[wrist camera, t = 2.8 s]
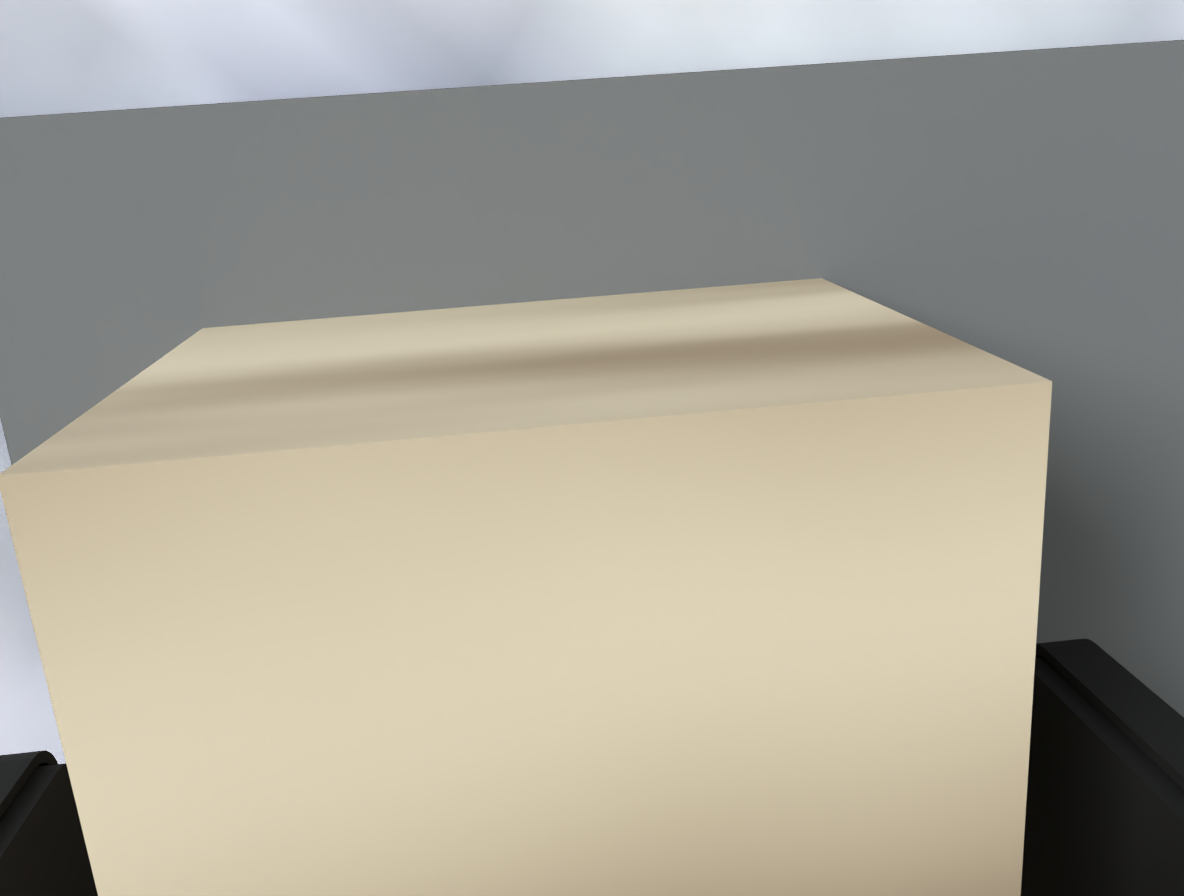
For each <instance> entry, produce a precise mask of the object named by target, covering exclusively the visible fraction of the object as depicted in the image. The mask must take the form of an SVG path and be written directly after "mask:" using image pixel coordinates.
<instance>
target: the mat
mask: <svg viewBox="0 0 1184 896" xmlns="http://www.w3.org/2000/svg"><path fill="white" fill-rule="evenodd" d="M817 278H823V279H825V280H827V281H829V282H832V283H834V284H836V285H838V286H841V287H843V288H845V289H847V290H849V291H852V292H854V293H856V294H858V295H861V296H863V297H865V298H867V299H870V300H872V301H874V302H876V303H879V304H881V305H883V306H885V307H887V308H890V309H892V310H894V311H896V312H899V313H901V314H903V315H905V316H908V317H910V318H912V319H914V320H917V321H919V322H921V323H923V324H925V325H928V326H930V327H932V328H934V329H937V330H939V331H941V332H943V333H946V334H948V335H950V336H952V337H954V338H957V339H959V340H961V341H963V342H966V343H968V344H970V345H972V346H975V347H977V348H979V349H981V350H984V351H986V352H988V353H990V354H992V355H995V356H997V357H999V358H1001V359H1004V360H1006V361H1008V362H1010V363H1013V364H1015V365H1017V366H1019V367H1021V368H1024V369H1026V370H1028V371H1030V372H1033V373H1035V374H1037V375H1039V376H1042V377H1044V378H1046V379H1048V380H1051V381H1052V395H1051V411H1050V427H1049V443H1048V460H1047V476H1046V492H1045V508H1044V524H1043V541H1042V557H1041V573H1040V589H1039V605H1038V622H1037V638H1036V643H1046V642H1055V641H1064V640H1073V639H1089V640H1091V641H1093V642H1095V643H1096V644H1097V645H1098V646H1099V647H1101V648H1102V649H1103V650H1104V651H1105V652H1106V653H1108V654H1109V655H1110V656H1111V657H1112V658H1114V659H1115V660H1116V661H1117V662H1118V663H1120V664H1121V665H1122V666H1123V667H1124V668H1125V669H1127V670H1128V671H1129V672H1130V673H1131V674H1133V675H1134V676H1135V677H1136V678H1137V679H1139V680H1140V681H1141V682H1142V683H1143V684H1144V685H1146V686H1147V687H1148V688H1149V689H1150V690H1152V691H1153V692H1154V693H1155V694H1156V695H1158V696H1159V697H1160V698H1161V699H1162V700H1163V701H1165V702H1166V703H1167V704H1168V705H1169V706H1171V707H1172V708H1173V709H1174V710H1175V711H1177V712H1178V713H1179V714H1180V715H1181V716H1182V717H1184V40H1174V41H1159V42H1144V43H1129V44H1113V45H1098V46H1083V47H1068V48H1053V49H1037V50H1022V51H1007V52H992V53H977V54H962V55H946V56H931V57H916V58H901V59H886V60H870V61H855V62H840V63H825V64H810V65H794V66H779V67H764V68H749V69H734V70H719V71H703V72H688V73H673V74H658V75H643V76H627V77H612V78H597V79H582V80H567V81H552V82H536V83H521V84H506V85H491V86H476V87H460V88H445V89H430V90H415V91H400V92H384V93H369V94H354V95H339V96H324V97H309V98H293V99H278V100H263V101H248V102H233V103H217V104H202V105H187V106H172V107H157V108H142V109H126V110H111V111H96V112H81V113H66V114H50V115H35V116H20V117H5V118H0V418H1V422H2V426H3V431H4V435H5V439H6V443H7V448H8V452H9V456H10V460H11V465H13V464H14V463H16V462H17V461H18V460H20V459H21V458H23V457H24V456H25V455H27V454H28V453H30V452H31V451H32V450H34V449H35V448H36V447H38V446H39V445H41V444H42V443H43V442H45V441H46V440H48V439H49V438H50V437H52V436H53V435H55V434H56V433H57V432H59V431H60V430H62V429H63V428H64V427H66V426H67V425H68V424H70V423H71V422H73V421H74V420H75V419H77V418H78V417H80V416H81V415H82V414H84V413H85V412H87V411H88V410H89V409H91V408H92V407H94V406H95V405H96V404H98V403H99V402H100V401H102V400H103V399H105V398H106V397H107V396H109V395H110V394H112V393H113V392H114V391H116V390H117V389H119V388H120V387H121V386H123V385H124V384H125V383H127V382H128V381H130V380H131V379H132V378H134V377H135V376H137V375H138V374H139V373H141V372H142V371H144V370H145V369H146V368H148V367H149V366H151V365H152V364H153V363H155V362H156V361H157V360H159V359H160V358H162V357H163V356H164V355H166V354H167V353H169V352H170V351H171V350H173V349H174V348H176V347H177V346H178V345H180V344H181V343H182V342H184V341H185V340H187V339H188V338H189V337H191V336H192V335H194V334H195V333H196V332H198V331H199V330H201V329H202V328H212V327H224V326H237V325H249V324H261V323H274V322H286V321H298V320H311V319H323V318H335V317H348V316H360V315H373V314H385V313H397V312H410V311H422V310H434V309H447V308H459V307H471V306H484V305H496V304H508V303H521V302H533V301H546V300H558V299H570V298H583V297H595V296H607V295H620V294H632V293H644V292H657V291H669V290H682V289H694V288H706V287H719V286H731V285H743V284H756V283H768V282H780V281H793V280H805V279H817Z"/></svg>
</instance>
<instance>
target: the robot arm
mask: <svg viewBox="0 0 1184 896" xmlns="http://www.w3.org/2000/svg"><path fill="white" fill-rule="evenodd" d="M0 896H98V894H97V889H96V885H95V881H94V877H93V873H92V869H91V865H90V860H89V856H88V852H87V848H86V844H85V840H84V835H83V831H82V827H81V823H80V819H79V815H78V810H77V806H76V802H75V798H74V794H73V790H72V786H71V781H70V777H69V773H68V769H67V765H66V764H58V763H57V761H56V759H55V758H54V756H53V755H52V754H51V753H50V752H48V751H37V752H28V753H19V754H10V755H0ZM1021 896H1184V717H1182V716H1181V715H1180V714H1179V713H1178V712H1177V711H1175V710H1174V709H1173V708H1172V707H1171V706H1169V705H1168V704H1167V703H1166V702H1165V701H1163V700H1162V699H1161V698H1160V697H1159V696H1158V695H1156V694H1155V693H1154V692H1153V691H1152V690H1150V689H1149V688H1148V687H1147V686H1146V685H1144V684H1143V683H1142V682H1141V681H1140V680H1139V679H1137V678H1136V677H1135V676H1134V675H1133V674H1131V673H1130V672H1129V671H1128V670H1127V669H1125V668H1124V667H1123V666H1122V665H1121V664H1120V663H1118V662H1117V661H1116V660H1115V659H1114V658H1112V657H1111V656H1110V655H1109V654H1108V653H1106V652H1105V651H1104V650H1103V649H1102V648H1101V647H1099V646H1098V645H1097V644H1096V643H1095V642H1093V641H1091V640H1089V639H1073V640H1064V641H1055V642H1046V643H1036V654H1035V670H1034V686H1033V703H1032V719H1031V735H1030V751H1029V767H1028V784H1027V800H1026V816H1025V832H1024V849H1023V865H1022V881H1021Z"/></svg>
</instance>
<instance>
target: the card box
mask: <svg viewBox="0 0 1184 896" xmlns="http://www.w3.org/2000/svg"><path fill="white" fill-rule="evenodd" d="M1051 395H1052V381H1051V380H1048V379H1046V378H1044V377H1042V376H1039V375H1037V374H1035V373H1033V372H1030V371H1028V370H1026V369H1024V368H1021V367H1019V366H1017V365H1015V364H1013V363H1010V362H1008V361H1006V360H1004V359H1001V358H999V357H997V356H995V355H992V354H990V353H988V352H986V351H984V350H981V349H979V348H977V347H975V346H972V345H970V344H968V343H966V342H963V341H961V340H959V339H957V338H954V337H952V336H950V335H948V334H946V333H943V332H941V331H939V330H937V329H934V328H932V327H930V326H928V325H925V324H923V323H921V322H919V321H917V320H914V319H912V318H910V317H908V316H905V315H903V314H901V313H899V312H896V311H894V310H892V309H890V308H887V307H885V306H883V305H881V304H879V303H876V302H874V301H872V300H870V299H867V298H865V297H863V296H861V295H858V294H856V293H854V292H852V291H849V290H847V289H845V288H843V287H841V286H838V285H836V284H834V283H832V282H829V281H827V280H825V279H823V278H817V279H805V280H793V281H780V282H768V283H756V284H743V285H731V286H719V287H706V288H694V289H682V290H669V291H657V292H644V293H632V294H620V295H607V296H595V297H583V298H570V299H558V300H546V301H533V302H521V303H508V304H496V305H484V306H471V307H459V308H447V309H434V310H422V311H410V312H397V313H385V314H373V315H360V316H348V317H335V318H323V319H311V320H298V321H286V322H274V323H261V324H249V325H237V326H224V327H212V328H202V329H201V330H199V331H198V332H196V333H195V334H194V335H192V336H191V337H189V338H188V339H187V340H185V341H184V342H182V343H181V344H180V345H178V346H177V347H176V348H174V349H173V350H171V351H170V352H169V353H167V354H166V355H164V356H163V357H162V358H160V359H159V360H157V361H156V362H155V363H153V364H152V365H151V366H149V367H148V368H146V369H145V370H144V371H142V372H141V373H139V374H138V375H137V376H135V377H134V378H132V379H131V380H130V381H128V382H127V383H125V384H124V385H123V386H121V387H120V388H119V389H117V390H116V391H114V392H113V393H112V394H110V395H109V396H107V397H106V398H105V399H103V400H102V401H100V402H99V403H98V404H96V405H95V406H94V407H92V408H91V409H89V410H88V411H87V412H85V413H84V414H82V415H81V416H80V417H78V418H77V419H75V420H74V421H73V422H71V423H70V424H68V425H67V426H66V427H64V428H63V429H62V430H60V431H59V432H57V433H56V434H55V435H53V436H52V437H50V438H49V439H48V440H46V441H45V442H43V443H42V444H41V445H39V446H38V447H36V448H35V449H34V450H32V451H31V452H30V453H28V454H27V455H25V456H24V457H23V458H21V459H20V460H18V461H17V462H16V463H14V464H13V465H11V466H10V467H9V468H7V469H6V470H5V471H3V472H2V473H0V490H1V494H2V499H3V503H4V507H5V511H6V515H7V519H8V524H9V528H10V532H11V536H12V540H13V544H14V549H15V553H16V557H17V561H18V565H19V569H20V573H21V578H22V582H23V586H24V590H25V594H26V598H27V603H28V607H29V611H30V615H31V619H32V623H33V628H34V632H35V636H36V640H37V644H38V648H39V652H40V657H41V661H42V665H43V669H44V673H45V677H46V682H47V686H48V690H49V694H50V698H51V702H52V707H53V711H54V715H55V719H56V723H57V727H58V731H59V736H60V740H61V744H62V748H63V752H64V756H65V761H66V765H67V769H68V773H69V777H70V781H71V786H72V790H73V794H74V798H75V802H76V806H77V810H78V815H79V819H80V823H81V827H82V831H83V835H84V840H85V844H86V848H87V852H88V856H89V860H90V865H91V869H92V873H93V877H94V881H95V885H96V889H97V894H98V896H1021V881H1022V865H1023V849H1024V832H1025V816H1026V800H1027V784H1028V767H1029V751H1030V735H1031V719H1032V703H1033V686H1034V670H1035V654H1036V638H1037V622H1038V605H1039V589H1040V573H1041V557H1042V541H1043V524H1044V508H1045V492H1046V476H1047V460H1048V443H1049V427H1050V411H1051Z"/></svg>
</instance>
